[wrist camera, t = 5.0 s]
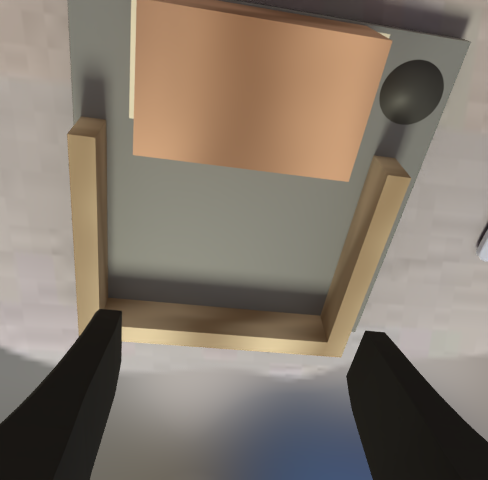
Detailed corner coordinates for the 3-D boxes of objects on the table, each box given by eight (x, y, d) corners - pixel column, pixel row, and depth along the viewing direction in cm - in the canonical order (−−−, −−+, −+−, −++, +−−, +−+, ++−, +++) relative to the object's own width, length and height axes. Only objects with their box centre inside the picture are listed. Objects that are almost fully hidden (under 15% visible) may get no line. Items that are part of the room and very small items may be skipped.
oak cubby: (395, 158, 20) (411, 177, 18) (333, 330, 26) (340, 357, 24) (81, 116, 18) (67, 134, 17) (88, 310, 24) (78, 338, 22)
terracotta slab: (366, 25, 17) (392, 40, 14) (331, 150, 20) (348, 181, 17) (149, -12, 16) (136, -3, 13) (144, 126, 19) (132, 155, 16)
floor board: (463, 39, 18) (470, 41, 17) (352, 324, 26) (355, 332, 26) (70, -28, 16) (66, -27, 16) (85, 302, 24) (82, 310, 24)
